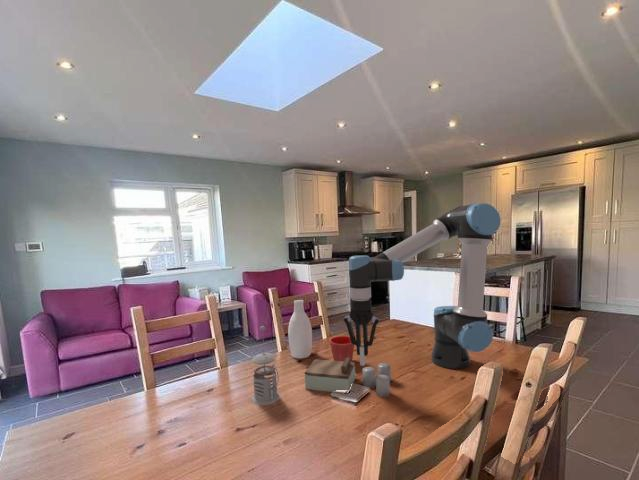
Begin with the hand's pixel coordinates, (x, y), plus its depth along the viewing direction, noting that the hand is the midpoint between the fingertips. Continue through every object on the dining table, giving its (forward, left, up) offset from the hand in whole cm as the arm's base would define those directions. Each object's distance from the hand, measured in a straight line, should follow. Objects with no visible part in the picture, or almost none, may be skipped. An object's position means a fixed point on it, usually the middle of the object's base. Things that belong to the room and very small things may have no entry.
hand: (362, 363), depth 113 cm
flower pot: (+12, -20, -9) cm, 25 cm away
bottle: (+33, -24, -9) cm, 42 cm away
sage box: (+12, 0, -8) cm, 15 cm away
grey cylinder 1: (-2, -2, -8) cm, 9 cm away
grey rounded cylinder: (-7, +3, -8) cm, 12 cm away
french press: (+31, +15, -9) cm, 35 cm away
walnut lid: (+12, 0, -3) cm, 13 cm away
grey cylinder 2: (-7, -7, -8) cm, 13 cm away
